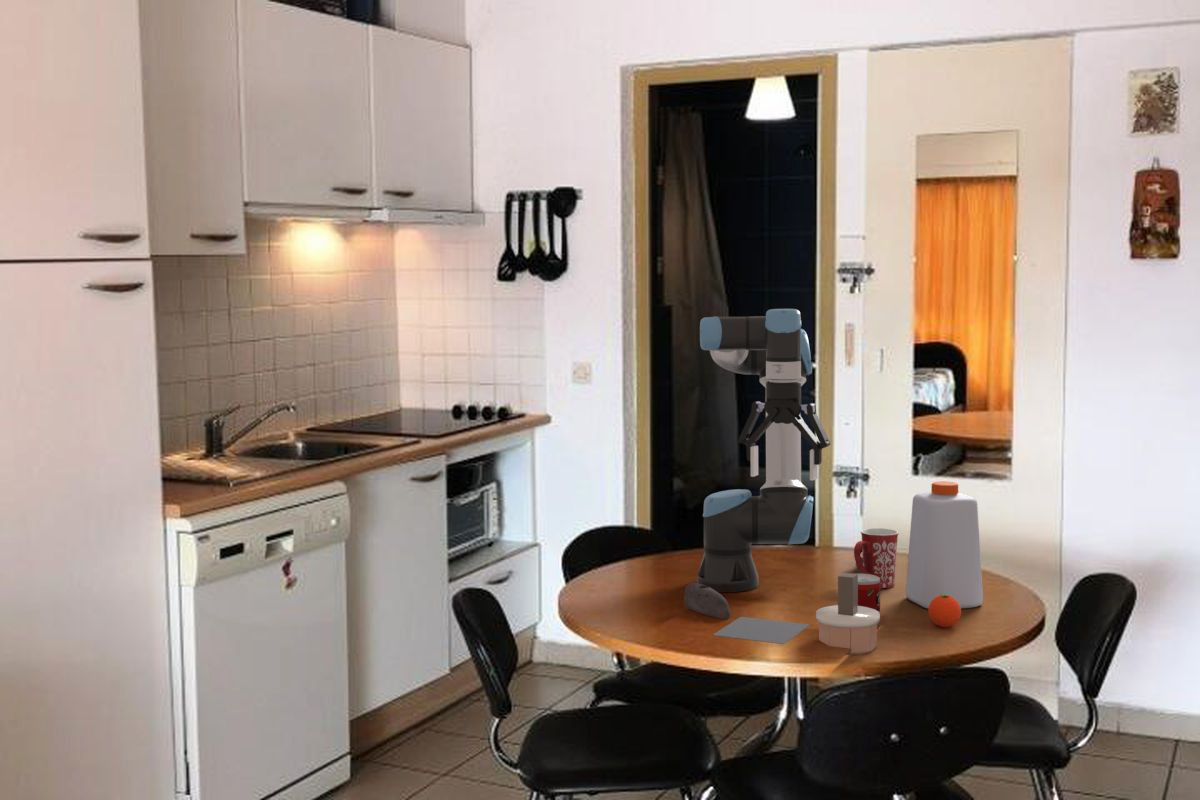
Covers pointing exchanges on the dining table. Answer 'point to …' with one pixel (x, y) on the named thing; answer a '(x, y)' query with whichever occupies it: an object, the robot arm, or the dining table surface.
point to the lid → (848, 606)
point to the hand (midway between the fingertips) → (783, 477)
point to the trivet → (761, 630)
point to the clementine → (944, 610)
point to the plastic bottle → (944, 547)
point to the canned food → (869, 591)
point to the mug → (878, 554)
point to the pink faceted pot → (849, 638)
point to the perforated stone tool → (706, 601)
